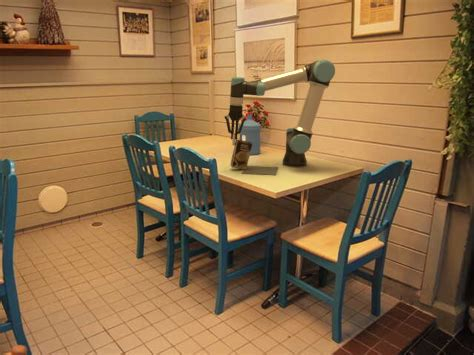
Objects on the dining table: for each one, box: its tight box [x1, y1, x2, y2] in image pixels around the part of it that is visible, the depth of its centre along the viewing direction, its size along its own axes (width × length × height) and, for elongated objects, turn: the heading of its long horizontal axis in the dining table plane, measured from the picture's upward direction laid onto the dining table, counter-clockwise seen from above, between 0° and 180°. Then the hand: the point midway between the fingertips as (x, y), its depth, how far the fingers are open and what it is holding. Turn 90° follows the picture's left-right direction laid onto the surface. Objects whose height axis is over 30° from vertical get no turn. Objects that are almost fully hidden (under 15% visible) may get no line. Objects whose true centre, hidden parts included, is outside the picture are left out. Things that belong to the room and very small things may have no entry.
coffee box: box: [229, 139, 252, 170], centre depth 227 cm, size 9×6×16 cm
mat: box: [241, 165, 279, 176], centre depth 227 cm, size 20×18×1 cm
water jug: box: [238, 113, 262, 156], centre depth 271 cm, size 16×16×28 cm
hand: (233, 144), depth 226 cm, fingers closed
